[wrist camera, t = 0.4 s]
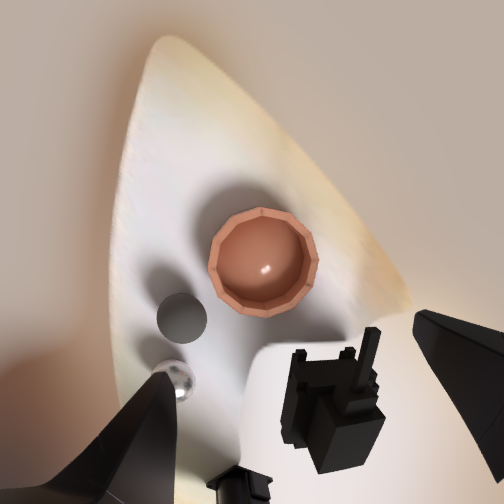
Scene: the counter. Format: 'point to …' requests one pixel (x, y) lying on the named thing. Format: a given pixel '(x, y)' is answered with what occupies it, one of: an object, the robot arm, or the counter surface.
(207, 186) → the counter surface
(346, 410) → the toy
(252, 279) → the dish
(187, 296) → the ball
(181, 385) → the steel ball
